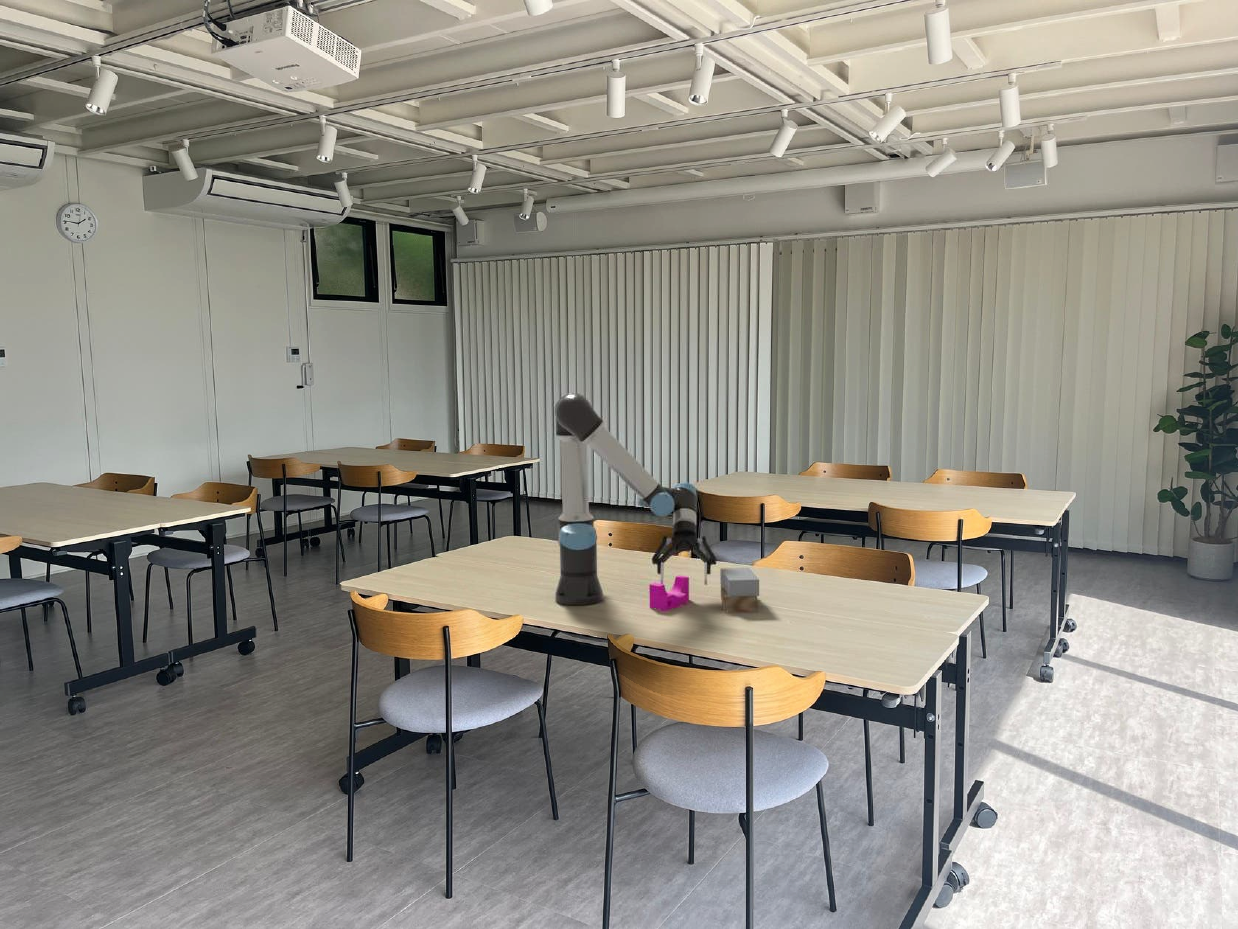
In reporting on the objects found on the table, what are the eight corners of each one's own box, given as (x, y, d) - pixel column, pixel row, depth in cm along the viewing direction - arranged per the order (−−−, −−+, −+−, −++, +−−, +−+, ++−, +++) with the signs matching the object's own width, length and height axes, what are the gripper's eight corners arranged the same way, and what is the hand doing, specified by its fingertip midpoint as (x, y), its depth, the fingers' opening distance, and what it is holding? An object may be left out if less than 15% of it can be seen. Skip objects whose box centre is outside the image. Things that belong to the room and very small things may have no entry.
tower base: (723, 613, 274) (723, 597, 273) (720, 598, 292) (720, 582, 291) (757, 613, 273) (757, 597, 273) (752, 598, 291) (752, 582, 291)
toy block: (665, 611, 276) (665, 587, 275) (649, 608, 280) (649, 584, 279) (695, 601, 287) (695, 578, 286) (679, 598, 291) (679, 575, 290)
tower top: (729, 596, 274) (729, 580, 273) (720, 584, 290) (720, 568, 289) (759, 595, 274) (759, 579, 274) (748, 583, 290) (748, 567, 289)
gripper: (723, 532, 299) (724, 588, 286) (647, 532, 302) (644, 588, 289) (723, 519, 293) (724, 576, 280) (645, 519, 296) (642, 575, 283)
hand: (683, 582), depth 284 cm, fingers open, 13 cm apart
